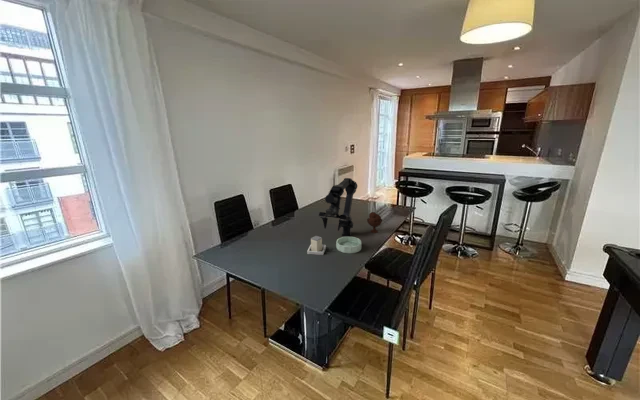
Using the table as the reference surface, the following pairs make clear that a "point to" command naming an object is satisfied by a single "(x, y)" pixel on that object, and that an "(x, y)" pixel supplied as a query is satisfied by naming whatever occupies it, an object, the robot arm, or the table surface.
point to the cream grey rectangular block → (316, 243)
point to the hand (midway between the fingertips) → (331, 229)
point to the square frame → (316, 251)
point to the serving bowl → (348, 244)
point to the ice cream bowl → (374, 221)
